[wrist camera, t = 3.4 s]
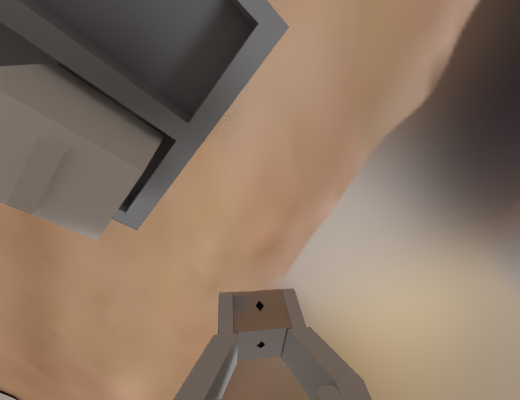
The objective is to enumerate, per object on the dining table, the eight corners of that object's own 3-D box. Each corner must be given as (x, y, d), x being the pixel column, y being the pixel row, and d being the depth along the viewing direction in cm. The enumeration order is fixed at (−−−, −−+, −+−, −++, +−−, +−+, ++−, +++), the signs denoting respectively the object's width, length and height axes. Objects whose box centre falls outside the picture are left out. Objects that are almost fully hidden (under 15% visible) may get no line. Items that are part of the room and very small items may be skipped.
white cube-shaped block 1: (129, 187, 13) (91, 248, 9) (24, 133, 11) (-88, 181, 7) (164, 135, 12) (139, 178, 8) (55, 62, 10) (-57, 69, 6)
